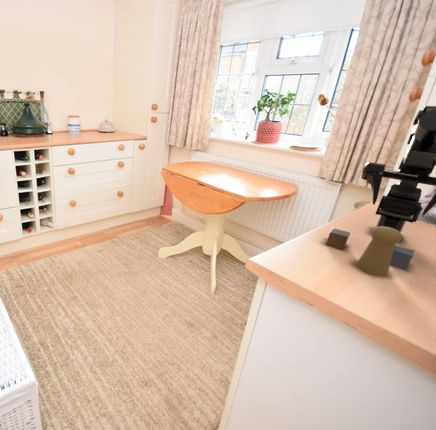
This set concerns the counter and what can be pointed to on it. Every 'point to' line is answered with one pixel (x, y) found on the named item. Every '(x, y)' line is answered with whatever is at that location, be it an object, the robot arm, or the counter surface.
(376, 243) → the cork
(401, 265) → the slate block
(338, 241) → the walnut block
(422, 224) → the counter surface
